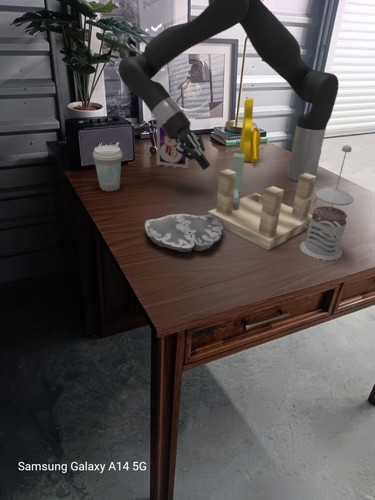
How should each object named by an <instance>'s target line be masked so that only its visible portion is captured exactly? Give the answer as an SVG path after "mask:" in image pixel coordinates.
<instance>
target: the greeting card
mask: <svg viewBox="0 0 375 500" xmlns="http://www.w3.org/2000/svg"><path fill="white" fill-rule="evenodd" d="M189 129H190V130H191V125H190V126H189ZM177 147H178V144H177V143H176V141H175V139H170V138H169V137H168V136H167V134H166V133H165V132H164V130H163V129H162V128H161V126H160V125H159V124H158V122H157V121H156V166H159V165H165V166H164V167H167V166H173V167H172V168H176V167H182V168H181V169H184V168H188V169H189V161H190V159H188V158H186V157H185V156H183V155H182V154H180V153H179V152H177V151H176V148H177Z"/></svg>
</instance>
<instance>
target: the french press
mask: <svg viewBox="0 0 375 500" xmlns="http://www.w3.org/2000/svg"><path fill="white" fill-rule="evenodd" d="M341 151H342V152H344V156H343V161H342V162H341V163H342V164H341V168H340V172H339V175H338V179H337V183H336V187H324V188H322V189H321V188H320V189H319V190H317V191H316V192H315V195H312V197H309V198H308V199H306V200H305V201H304V203H303V204H302V205H301V207H302V209H301V207H300V210H299V218H300V221H301V217H300V211H301V215H302V218H303V214H302V210H303V205H304V204H305V202H307V201H308V200H311V201H312V200H313V203H312V204H313V205H315V204H316V203H317V200H320V201H321V202H324V203H326V204H329V205H331V206H329V205H325V206H324V205H322V206H317V207H316V208H314V209H313V213H312V214H311V215H312V216H311V221H310V224H309V223H308V222H306V221H305V219H304V218H303V220H304V221H305V222H306V223H307V224H308V225H309V228H308V227H307V226H306V225H305V224H303V222H302V221H301V222H302V224H303V225H304V226H305V227H307V229H306V234H305V238H304V240H303V241H302V242H301V243H300V244H299V248H300V250H301V252H302V253H304V254H305V255H306V254H307V255H306V256H308V255H309V256H308V257H310V256H312V257H314V258H313V259H315V258H317V259H316V260H319V259H322V260H321V261H325V260H331V259H336V258H338V257H339V256H341V253H342V254H343V251H342V250H341V247H340V246H341V243H342V240H343V236H344V233H345V230H346V225H347V220H346V218H347V217H348V215H347V213H346V212H345V211H343V210H342V209H340V208H336V207H333V205H334V206H350V205H351V204H352V203H353V202H354V200H355V198H354V196H353V195H351V193H349V192H348V191H347V190H344V189H341V188H339V187H338V186H339V184H340V183H339V181H340V179H341V175H342V171H343V167H344V163H345V159H346V157H347V156H346V155H347V153H351V152H352V147H351V146H350V145H349V144H347V145H346V144H345V145H343V146H342V148H341ZM310 198H312V199H310ZM319 222H320V223H319ZM327 222H328V223H327ZM336 222H337V223H336ZM332 225H333V226H332ZM322 231H323V232H322ZM312 257H311V258H312ZM341 257H342V256H341ZM336 260H337V259H336Z"/></svg>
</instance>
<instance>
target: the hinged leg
mask: <svg viewBox="0 0 375 500" xmlns="http://www.w3.org/2000/svg"><path fill="white" fill-rule="evenodd" d="M244 165H245V161H244V154H241V152H238V153H237V152H233V156H232V166H231V171H234V172H237V174H236V183H235V192H234V201H233V209H238V208H239V204H240V199H241V198H239V195H241V189H242V181H243V174H244V173H243V172H244Z"/></svg>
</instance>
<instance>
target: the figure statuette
mask: <svg viewBox="0 0 375 500" xmlns="http://www.w3.org/2000/svg"><path fill="white" fill-rule="evenodd" d="M243 108H244V109H243V111H244V112H243V120H242V122H243V123H242V124H243V125H242V129H241V130H242V131H241V135H240V139H239V148H240V149H239V150H240V154H244V162H250V163H257V162H258V161H259V160H258V159H259V156H260V150H259V149H260V145H261V142H262V137H261V132H260V130H259V129H258V128H257V127H254V128H253V115H254V98H251V97H249V98H248V97H246V99H245V101H244V107H243Z"/></svg>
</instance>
